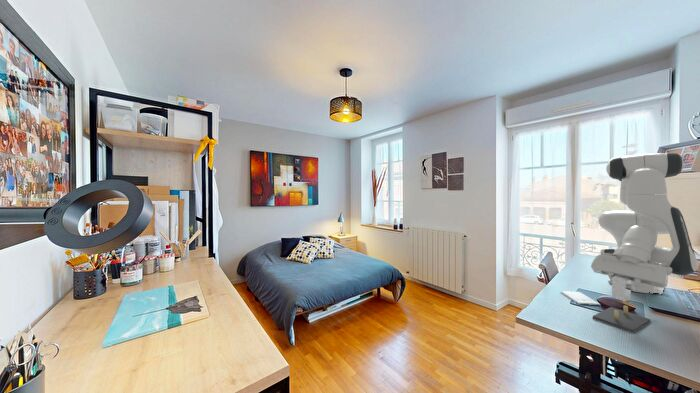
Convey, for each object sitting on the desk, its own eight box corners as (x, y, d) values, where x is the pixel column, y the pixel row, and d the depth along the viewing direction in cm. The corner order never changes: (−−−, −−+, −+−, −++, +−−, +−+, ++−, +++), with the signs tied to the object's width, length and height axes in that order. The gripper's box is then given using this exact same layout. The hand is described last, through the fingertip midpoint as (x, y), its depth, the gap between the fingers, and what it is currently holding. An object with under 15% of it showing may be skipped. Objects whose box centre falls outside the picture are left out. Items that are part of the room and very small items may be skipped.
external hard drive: (580, 295, 120) (600, 307, 108) (560, 294, 121) (578, 305, 109) (580, 291, 120) (600, 303, 108) (560, 290, 121) (578, 302, 109)
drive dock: (610, 309, 105) (611, 298, 105) (650, 321, 95) (650, 310, 95) (592, 318, 98) (592, 307, 98) (633, 332, 88) (633, 320, 88)
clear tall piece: (617, 294, 98) (618, 275, 98) (630, 298, 95) (631, 278, 95) (611, 297, 96) (612, 277, 96) (625, 301, 93) (625, 280, 93)
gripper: (675, 271, 91) (665, 302, 87) (601, 257, 109) (589, 282, 105) (671, 260, 89) (660, 292, 85) (596, 248, 107) (584, 274, 103)
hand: (620, 287), depth 95 cm, fingers closed on clear tall piece, 4 cm apart
